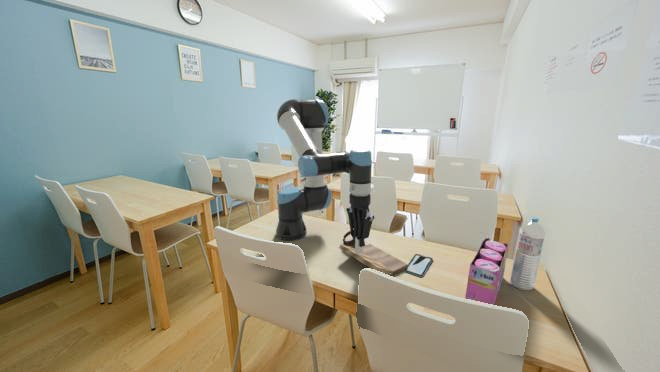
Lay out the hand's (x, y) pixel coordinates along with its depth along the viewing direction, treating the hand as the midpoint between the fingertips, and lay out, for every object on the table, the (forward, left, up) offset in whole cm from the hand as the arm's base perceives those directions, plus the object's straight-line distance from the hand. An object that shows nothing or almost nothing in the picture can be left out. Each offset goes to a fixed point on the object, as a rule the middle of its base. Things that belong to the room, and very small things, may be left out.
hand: (359, 252), depth 102 cm
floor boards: (0, +12, -7) cm, 14 cm away
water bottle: (+41, +39, -8) cm, 57 cm away
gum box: (+34, +27, -8) cm, 44 cm away
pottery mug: (-16, +12, -8) cm, 21 cm away
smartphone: (+12, +21, -8) cm, 25 cm away
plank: (0, +3, -5) cm, 5 cm away
